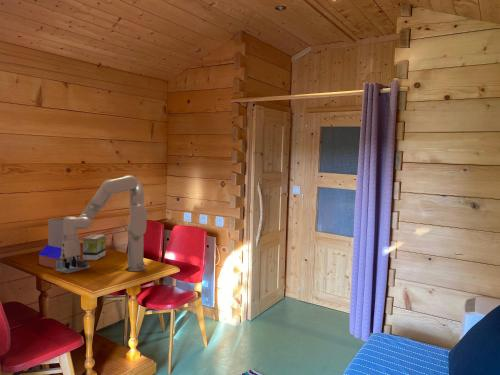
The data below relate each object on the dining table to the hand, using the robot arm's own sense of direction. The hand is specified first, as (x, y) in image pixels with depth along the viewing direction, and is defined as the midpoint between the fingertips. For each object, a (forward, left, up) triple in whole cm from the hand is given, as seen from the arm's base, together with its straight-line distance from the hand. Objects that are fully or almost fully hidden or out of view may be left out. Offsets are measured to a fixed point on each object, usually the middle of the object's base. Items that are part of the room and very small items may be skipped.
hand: (70, 267), depth 234 cm
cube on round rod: (0, -8, -1) cm, 8 cm away
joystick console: (+3, -4, -2) cm, 5 cm away
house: (+18, -4, -3) cm, 19 cm away
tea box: (+15, -30, -3) cm, 34 cm away
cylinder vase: (+39, -20, -2) cm, 44 cm away
